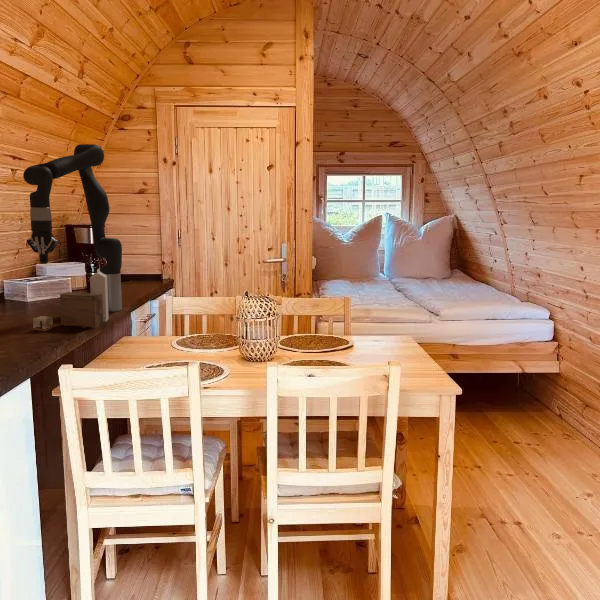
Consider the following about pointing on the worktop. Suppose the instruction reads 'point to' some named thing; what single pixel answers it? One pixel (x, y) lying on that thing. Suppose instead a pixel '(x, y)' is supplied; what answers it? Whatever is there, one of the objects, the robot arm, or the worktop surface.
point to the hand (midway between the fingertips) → (44, 263)
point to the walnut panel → (82, 309)
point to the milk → (100, 290)
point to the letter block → (42, 322)
